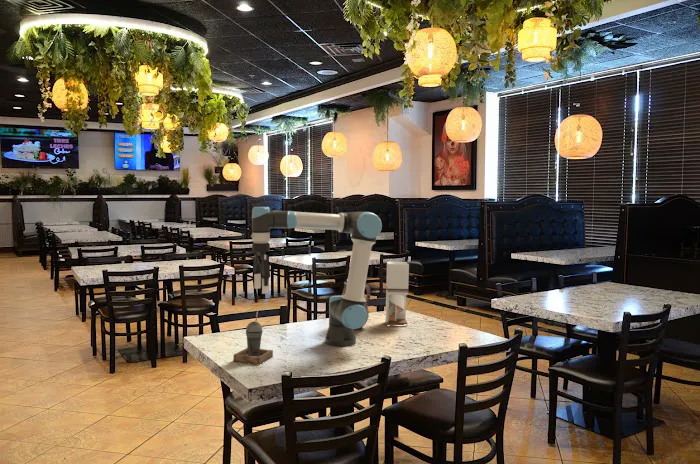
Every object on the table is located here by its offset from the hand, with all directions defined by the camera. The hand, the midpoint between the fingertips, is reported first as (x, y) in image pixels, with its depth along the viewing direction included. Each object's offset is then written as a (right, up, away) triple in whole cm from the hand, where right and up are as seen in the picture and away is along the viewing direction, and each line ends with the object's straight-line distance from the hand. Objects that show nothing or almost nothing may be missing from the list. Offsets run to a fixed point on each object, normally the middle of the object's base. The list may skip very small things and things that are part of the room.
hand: (261, 290), depth 236 cm
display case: (+65, -27, +71) cm, 100 cm away
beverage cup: (-3, -29, -2) cm, 29 cm away
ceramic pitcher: (+41, -27, +59) cm, 77 cm away
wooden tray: (-3, -29, -2) cm, 30 cm away
